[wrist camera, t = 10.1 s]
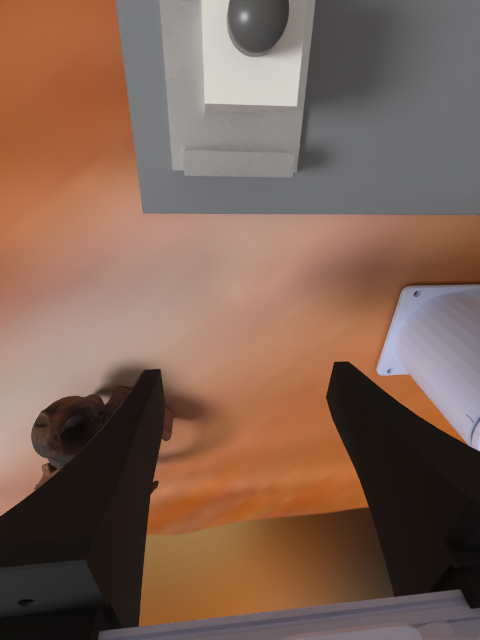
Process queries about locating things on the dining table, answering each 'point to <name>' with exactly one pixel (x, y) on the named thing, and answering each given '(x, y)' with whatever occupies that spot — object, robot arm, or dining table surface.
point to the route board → (338, 115)
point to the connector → (252, 54)
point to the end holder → (223, 127)
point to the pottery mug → (77, 428)
